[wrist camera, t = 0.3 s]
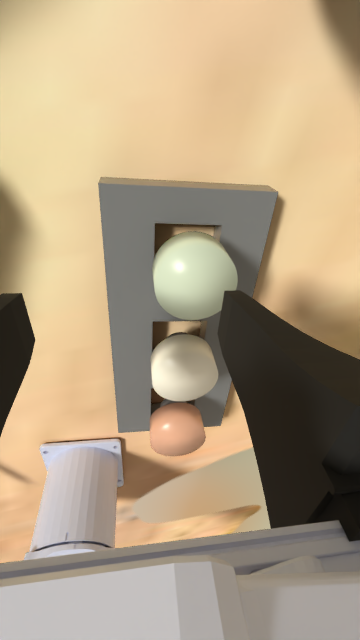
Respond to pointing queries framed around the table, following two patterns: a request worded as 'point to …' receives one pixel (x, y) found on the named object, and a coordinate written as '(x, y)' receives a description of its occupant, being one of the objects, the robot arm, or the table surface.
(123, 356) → the panel
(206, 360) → the button cream
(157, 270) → the button sage
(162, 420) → the button terracotta
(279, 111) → the table surface
